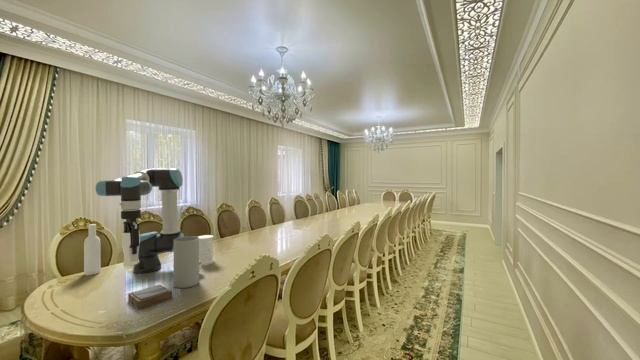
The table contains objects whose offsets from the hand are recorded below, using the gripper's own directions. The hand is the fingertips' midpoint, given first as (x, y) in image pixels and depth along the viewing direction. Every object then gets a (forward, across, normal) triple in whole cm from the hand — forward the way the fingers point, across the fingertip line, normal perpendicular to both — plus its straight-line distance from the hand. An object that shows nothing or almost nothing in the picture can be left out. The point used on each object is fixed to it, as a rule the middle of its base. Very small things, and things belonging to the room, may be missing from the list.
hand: (131, 259), depth 125 cm
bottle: (+21, -66, -2) cm, 70 cm away
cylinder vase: (+21, -4, +27) cm, 34 cm away
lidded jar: (+21, -17, +36) cm, 45 cm away
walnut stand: (+21, +2, +7) cm, 22 cm away
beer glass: (+2, 0, 0) cm, 2 cm away
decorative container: (+21, -33, +52) cm, 65 cm away
